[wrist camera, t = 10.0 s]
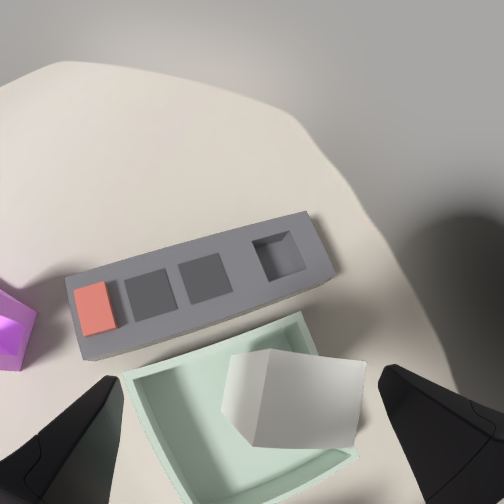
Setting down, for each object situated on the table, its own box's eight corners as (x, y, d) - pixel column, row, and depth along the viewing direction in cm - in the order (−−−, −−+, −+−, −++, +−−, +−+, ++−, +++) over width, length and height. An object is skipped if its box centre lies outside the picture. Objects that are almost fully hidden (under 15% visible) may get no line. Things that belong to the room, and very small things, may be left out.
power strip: (293, 226, 27) (309, 205, 23) (320, 284, 25) (341, 271, 22) (77, 288, 20) (60, 274, 16) (95, 361, 18) (79, 359, 15)
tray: (337, 448, 19) (359, 457, 16) (198, 509, 15) (201, 530, 12) (284, 318, 23) (300, 310, 20) (130, 372, 18) (120, 373, 15)
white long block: (274, 414, 19) (353, 447, 9) (216, 406, 19) (252, 446, 9) (282, 365, 21) (366, 361, 11) (226, 356, 20) (270, 348, 10)
